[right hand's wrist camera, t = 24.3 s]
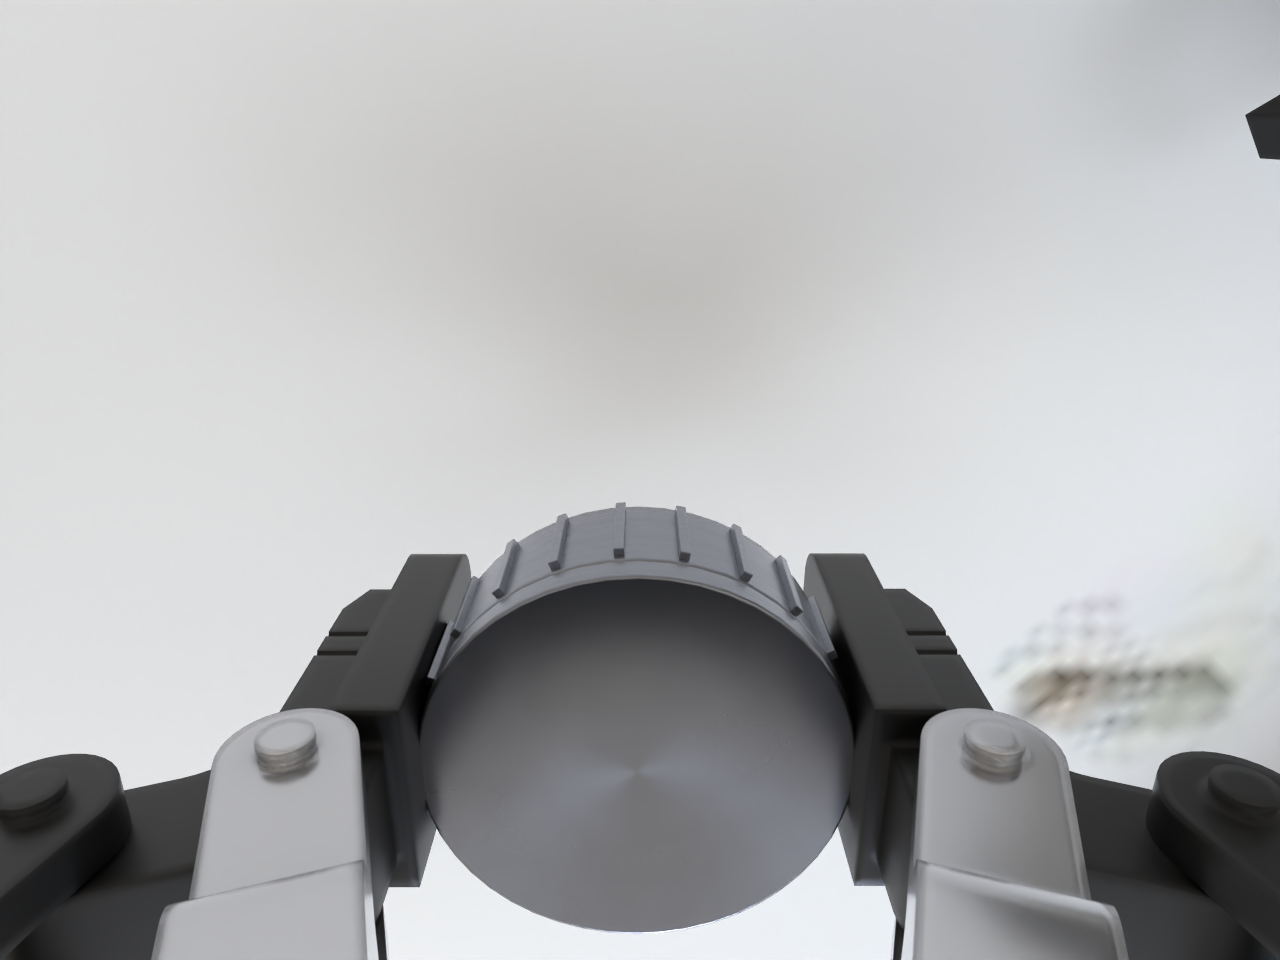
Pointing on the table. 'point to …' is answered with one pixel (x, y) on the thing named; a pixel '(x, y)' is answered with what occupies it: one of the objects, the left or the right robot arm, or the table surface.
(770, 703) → the lid
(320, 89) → the table surface
